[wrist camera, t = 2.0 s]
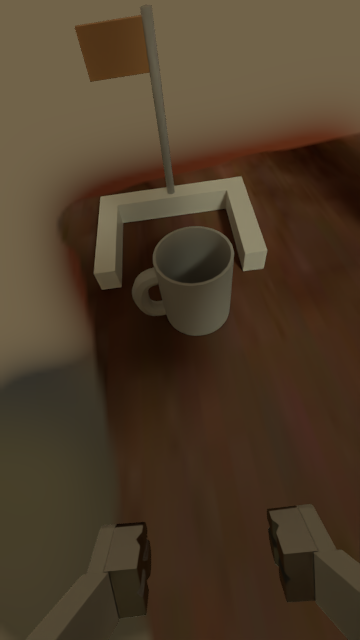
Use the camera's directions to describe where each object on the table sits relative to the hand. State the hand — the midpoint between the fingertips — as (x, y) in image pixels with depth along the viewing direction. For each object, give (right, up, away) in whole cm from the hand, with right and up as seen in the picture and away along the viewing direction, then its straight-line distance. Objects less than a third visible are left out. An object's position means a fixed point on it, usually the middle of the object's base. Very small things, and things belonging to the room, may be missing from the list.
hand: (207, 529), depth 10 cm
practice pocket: (-1, +18, +30) cm, 35 cm away
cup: (0, +8, +24) cm, 25 cm away
